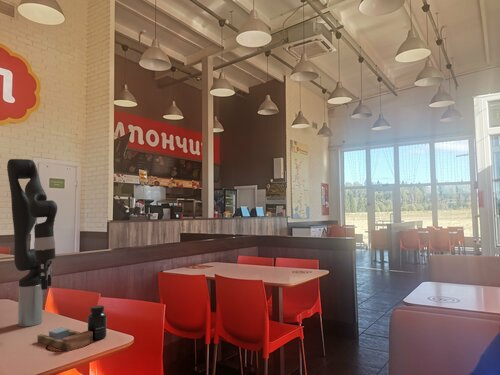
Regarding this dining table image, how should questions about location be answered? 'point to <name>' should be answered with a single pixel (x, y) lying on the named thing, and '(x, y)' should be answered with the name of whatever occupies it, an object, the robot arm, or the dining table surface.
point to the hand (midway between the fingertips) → (46, 287)
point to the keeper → (59, 333)
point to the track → (68, 340)
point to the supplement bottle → (97, 322)
